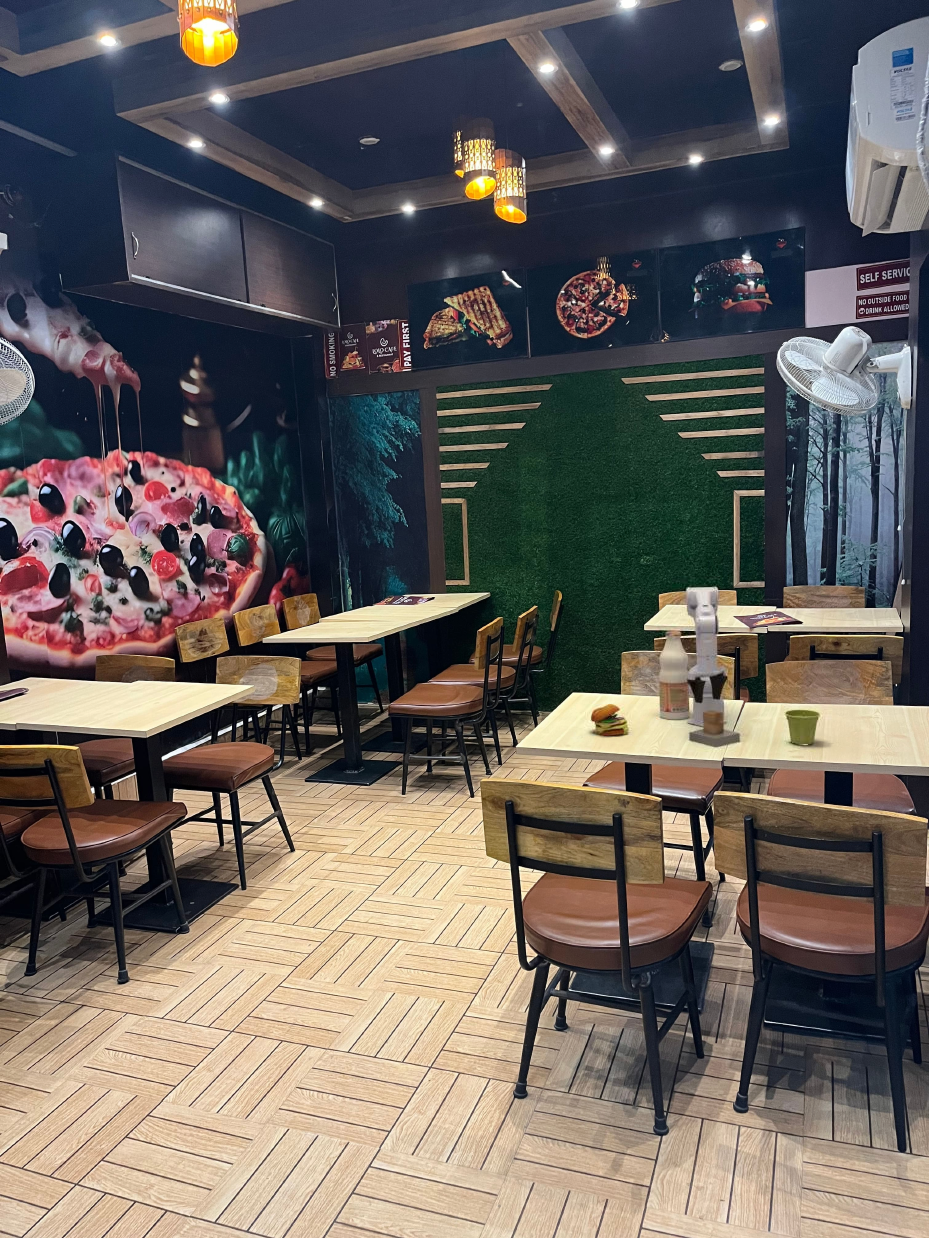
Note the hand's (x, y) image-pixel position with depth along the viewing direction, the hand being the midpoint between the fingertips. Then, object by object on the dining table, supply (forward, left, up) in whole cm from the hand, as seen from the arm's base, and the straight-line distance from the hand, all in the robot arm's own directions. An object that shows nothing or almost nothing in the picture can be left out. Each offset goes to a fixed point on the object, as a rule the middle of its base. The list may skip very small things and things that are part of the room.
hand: (707, 700), depth 267 cm
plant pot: (-12, +24, -11) cm, 29 cm away
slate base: (+4, +6, -11) cm, 13 cm away
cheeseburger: (+19, -22, -11) cm, 31 cm away
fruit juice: (-10, -23, -11) cm, 28 cm away
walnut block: (+4, +6, -8) cm, 10 cm away
